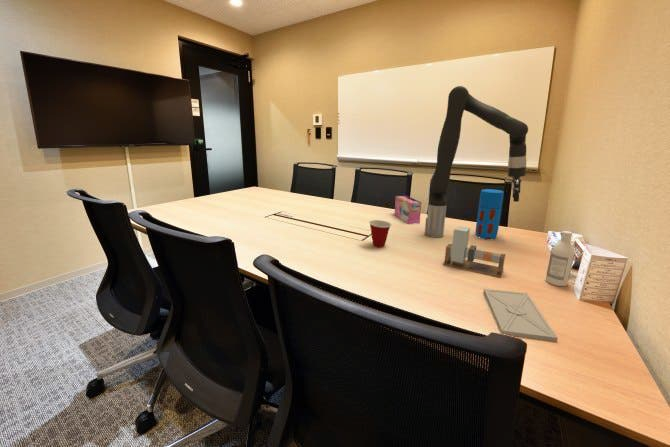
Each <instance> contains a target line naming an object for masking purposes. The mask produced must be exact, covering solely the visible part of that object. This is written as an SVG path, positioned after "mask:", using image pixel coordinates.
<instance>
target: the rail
mask: <svg viewBox="0 0 670 447" xmlns="http://www.w3.org/2000/svg"><path fill="white" fill-rule="evenodd" d="M469 248H470V247H467V248H466V249H465V254H464V257H466V258H468V251H469ZM451 251H452V243H448V244H447V246H445V254H444V261H443V263H442V265H443V266H445V267H450V268H454V269H459V270H464V271H467V272H473V273H477V274H482V275H487V276H490V277H494V278H495V277H496V278H498V279H499V278H500V279H501V277H502V274H503V272H504V269H505V268H504V266H505V261H506V260H505V259H506V253H496V252H491V251H490V252H489V251H485V250H480V249H476V250H475V251H474V256H473V259H474V260H479V261H483V262H489V263H493V264H498V266H496V265H493V264H488V263H487V264H486V263H482V262H476V261H473V262H469V261H467V259H465V261H464V262H463V263H460V262H455V261H451Z"/></svg>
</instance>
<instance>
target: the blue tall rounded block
mask: <svg viewBox="0 0 670 447" xmlns="http://www.w3.org/2000/svg"><path fill="white" fill-rule="evenodd" d="M504 194H505V193H504V191H503V190H500V189H499V190H498V189H493V188H491V189H489V188H486V189H481V190H480V196H479V201H478V203H479V204H478V209H477V216H476V224H475V233H474V234H475V235H476V236H477V237H476V236H475V235H474V236H475V237H476V238H478V237H480V238H479V239H481V238H484V239H483V240H487V239H493V240H496V239H497V238H496V237H498V232H499V226H500V221H501V214H502V206H503V202H504ZM495 238H496V239H495Z"/></svg>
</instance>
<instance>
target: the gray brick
mask: <svg viewBox="0 0 670 447" xmlns="http://www.w3.org/2000/svg"><path fill="white" fill-rule="evenodd" d="M468 248H469V251H468V257H467V258H466V260H467V261H469V262H474V260H475V259H473V256H474V251H475V250H477V245H474V244H471V245H470V247H468Z"/></svg>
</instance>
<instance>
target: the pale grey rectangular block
mask: <svg viewBox="0 0 670 447" xmlns="http://www.w3.org/2000/svg"><path fill="white" fill-rule="evenodd" d="M470 230H471V227H467V226H461V225H457V226H456V227H455V228H454V229H453V235H452V243H451V244H452V251H451V261H455V262H460V263H463V262H464V261H465V260H467V257H464V254H465V249H466V248H469V247H468V246H469V238H470Z"/></svg>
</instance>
